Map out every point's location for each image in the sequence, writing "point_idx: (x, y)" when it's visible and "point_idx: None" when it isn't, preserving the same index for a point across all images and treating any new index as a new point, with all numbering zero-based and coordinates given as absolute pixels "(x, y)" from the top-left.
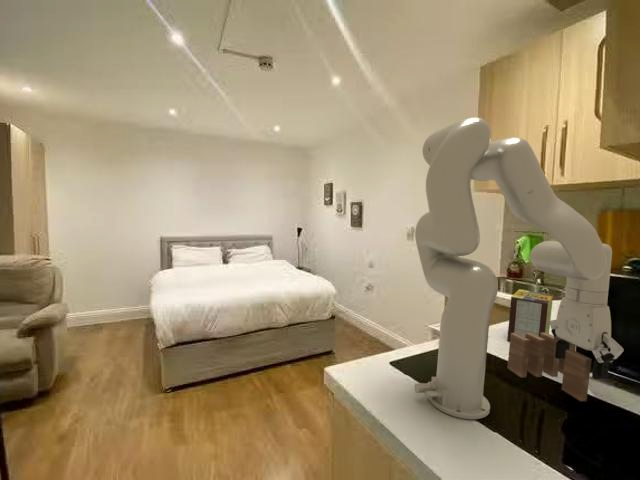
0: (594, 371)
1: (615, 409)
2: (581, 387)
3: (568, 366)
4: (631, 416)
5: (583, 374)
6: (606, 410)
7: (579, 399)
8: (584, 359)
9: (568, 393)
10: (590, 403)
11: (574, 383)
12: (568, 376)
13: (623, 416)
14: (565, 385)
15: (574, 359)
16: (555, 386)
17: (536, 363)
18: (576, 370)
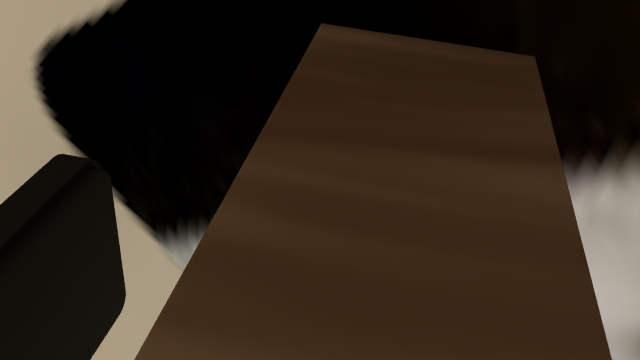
0: (3, 208)
1: (195, 175)
2: (297, 84)
3: (500, 218)
4: (118, 185)
5: (243, 171)
6: (185, 100)
7: (328, 27)
8: (162, 357)
9: (449, 43)
10: (282, 80)
11: (385, 97)
12: (475, 134)
13: (115, 136)
14: (496, 77)
15: (395, 322)
16: (602, 54)
17: None
18: (355, 193)
